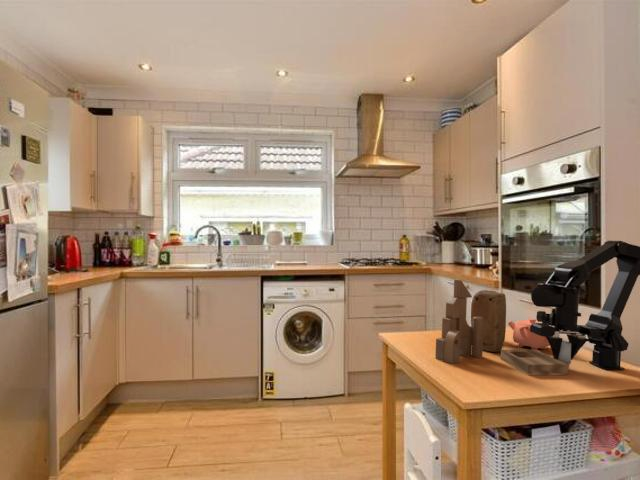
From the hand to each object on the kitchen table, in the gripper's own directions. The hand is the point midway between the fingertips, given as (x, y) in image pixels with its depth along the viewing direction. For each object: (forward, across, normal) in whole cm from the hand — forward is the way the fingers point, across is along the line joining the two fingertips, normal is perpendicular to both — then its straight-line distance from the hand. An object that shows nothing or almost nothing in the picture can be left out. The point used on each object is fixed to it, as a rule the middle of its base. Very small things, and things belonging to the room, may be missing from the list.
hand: (562, 359), depth 115 cm
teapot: (+3, -5, -22) cm, 23 cm away
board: (+3, +8, -2) cm, 9 cm away
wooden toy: (+4, +27, -10) cm, 29 cm away
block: (+4, +13, -20) cm, 24 cm away
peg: (+3, 0, 0) cm, 3 cm away
